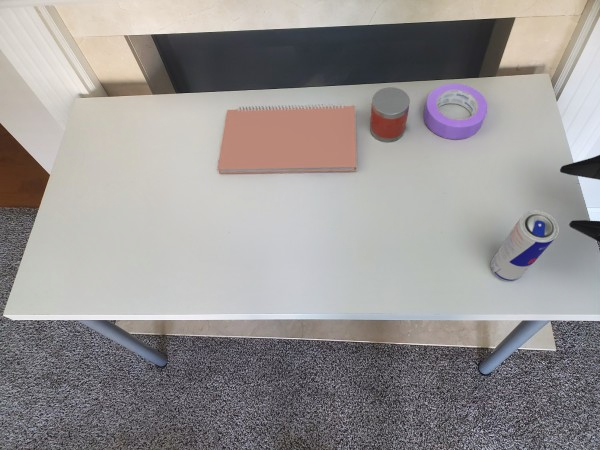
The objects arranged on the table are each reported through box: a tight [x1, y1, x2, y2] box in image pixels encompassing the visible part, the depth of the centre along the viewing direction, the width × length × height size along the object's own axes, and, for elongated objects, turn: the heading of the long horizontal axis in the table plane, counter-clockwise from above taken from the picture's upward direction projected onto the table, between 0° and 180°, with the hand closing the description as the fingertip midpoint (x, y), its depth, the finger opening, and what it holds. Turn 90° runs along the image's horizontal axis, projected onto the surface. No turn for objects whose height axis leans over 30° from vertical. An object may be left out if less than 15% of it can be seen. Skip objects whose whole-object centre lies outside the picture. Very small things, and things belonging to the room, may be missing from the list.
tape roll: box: [423, 83, 489, 140], centre depth 89 cm, size 12×12×4 cm
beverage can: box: [490, 209, 560, 282], centre depth 67 cm, size 5×5×15 cm
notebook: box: [217, 103, 358, 175], centre depth 91 cm, size 27×17×2 cm, turn 88°
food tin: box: [369, 86, 411, 143], centre depth 87 cm, size 7×7×8 cm
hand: (565, 195), depth 62 cm, fingers open, 9 cm apart
